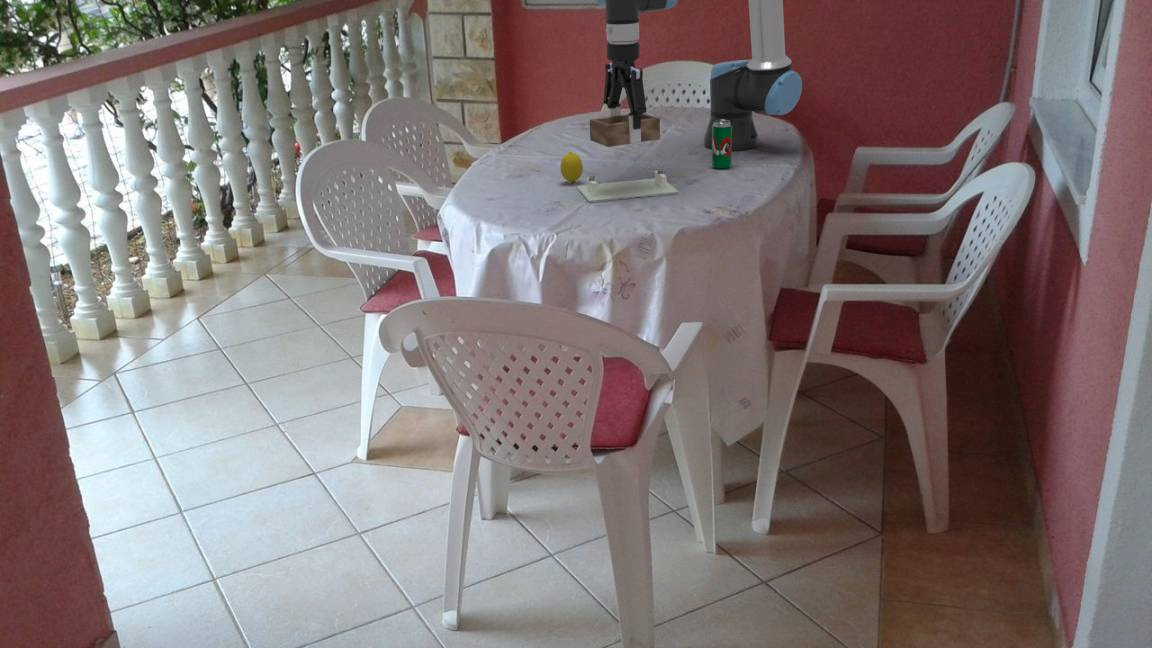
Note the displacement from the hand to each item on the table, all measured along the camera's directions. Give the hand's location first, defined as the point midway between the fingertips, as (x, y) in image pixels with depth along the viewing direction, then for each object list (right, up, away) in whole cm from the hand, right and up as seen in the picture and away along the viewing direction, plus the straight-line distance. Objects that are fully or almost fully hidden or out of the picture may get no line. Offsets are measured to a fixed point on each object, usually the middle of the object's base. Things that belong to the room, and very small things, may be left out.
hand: (625, 138), depth 246 cm
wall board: (+1, -12, +5) cm, 13 cm away
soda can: (+26, -4, +22) cm, 34 cm away
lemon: (-13, -9, +14) cm, 21 cm away
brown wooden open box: (0, 0, 0) cm, 0 cm away
